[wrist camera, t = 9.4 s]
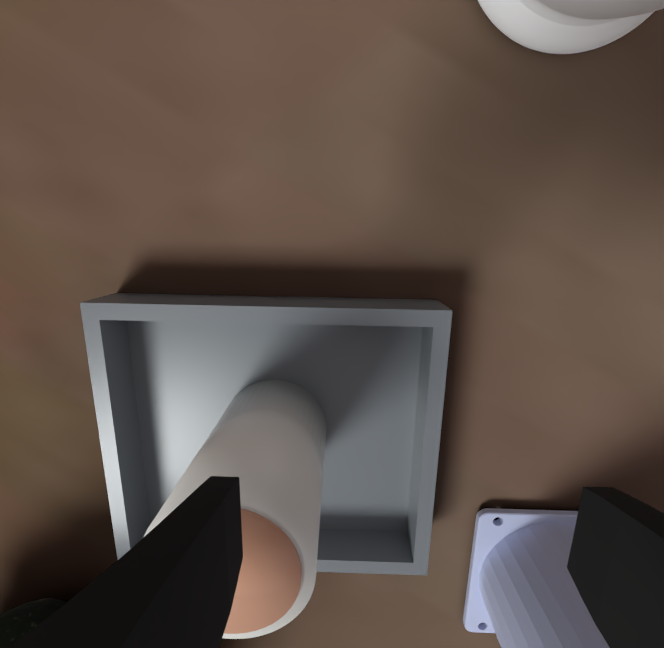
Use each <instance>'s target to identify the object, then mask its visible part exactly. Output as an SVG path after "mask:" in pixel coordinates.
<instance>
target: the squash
mask: <svg viewBox="0 0 664 648" xmlns="http://www.w3.org/2000/svg"><path fill="white" fill-rule="evenodd" d="M64 604H66V602H65V601H63V600H59V599H53V598H47V599H40V600H36V601H31V602H26V603H24V604H22V605H20V606H17V607H15V608H13V609H11V610H8V611H6V612H4V613H2V614H0V648H8V647H9V646H10V645H12V644H13V643H14V642H16V641H17V640H19V639H20V638H21V637H23V636H24V635H25V634H27V633H28V632H29V631H31V630H32V629H33V628H35V627H36V626H37V625H38V624H40V623H41V622H42V621H44V620H45V619H46V618H48V617H49V616H50V615H51V614H53V613H54V612H55V611H57V610H58V609H59V608H60V607H62V606H63V605H64Z"/></svg>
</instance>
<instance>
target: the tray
mask: <svg viewBox="0 0 664 648" xmlns="http://www.w3.org/2000/svg"><path fill="white" fill-rule="evenodd" d="M80 307H81V314H82V321H83V327H84V334H85V341H86V348H87V355H88V362H89V368H90V375H91V382H92V389H93V396H94V403H95V409H96V416H97V423H98V430H99V437H100V444H101V450H102V457H103V464H104V471H105V478H106V485H107V491H108V498H109V505H110V512H111V519H112V526H113V532H114V539H115V546H116V553H117V560H119V559H120V558H121V557H122V556H123V555H124V554H125V553H127V552H128V551H129V550H130V549H131V548H132V547H133V546H134V545H136V544H137V543H138V542H139V541H140V540H141V539H142V538H143V537H144V535H145V533H146V531H147V529H148V527H149V526H150V524H151V523H152V521H153V520H154V518H155V517H156V515H157V514H158V512H159V511H160V509H161V508H162V506H163V505H164V503H165V502H166V500H167V499H168V497H169V496H170V494H171V493H172V491H173V490H174V488H175V486H176V485H177V483H178V482H179V480H180V479H181V477H182V476H183V474H184V473H185V471H186V470H187V468H188V467H189V465H190V464H191V462H192V461H193V459H194V458H195V456H196V455H197V453H198V452H199V450H200V448H201V447H202V445H203V444H204V442H205V441H206V439H207V438H208V436H209V435H210V433H211V432H212V430H213V429H214V427H215V426H216V424H217V423H218V421H219V420H220V418H221V417H222V415H223V414H224V412H225V410H226V409H227V407H228V406H229V404H230V403H231V401H232V400H233V399H234V397H235V396H236V395H237V394H238V393H239V392H240V391H241V390H243V389H244V388H246V387H247V386H249V385H251V384H253V383H256V382H259V381H264V380H283V381H288V382H291V383H294V384H296V385H298V386H300V387H302V388H304V389H305V390H307V391H308V392H309V393H310V394H311V395H312V396H313V397H314V398H315V399H316V400H317V401H318V403H319V404H320V406H321V408H322V410H323V412H324V415H325V419H326V443H325V457H324V471H323V485H322V498H321V512H320V526H319V540H318V554H317V568H316V572H342V573H373V574H404V575H427V570H428V559H429V549H430V539H431V528H432V518H433V508H434V497H435V487H436V477H437V466H438V456H439V446H440V435H441V425H442V415H443V404H444V394H445V384H446V373H447V363H448V353H449V342H450V332H451V322H452V310H451V309H450V308H448V307H447V306H445V305H444V304H442V303H441V302H439V301H438V300H427V299H379V298H331V297H283V296H235V295H186V294H138V293H114V294H111V295H107V296H103V297H99V298H96V299H92V300H88V301H84V302H80Z"/></svg>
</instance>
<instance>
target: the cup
mask: <svg viewBox="0 0 664 648" xmlns="http://www.w3.org/2000/svg"><path fill="white" fill-rule="evenodd" d="M325 443H326V419H325V415H324V412H323V410H322V408H321V406H320V404H319V403H318V401H317V400H316V399H315V398H314V397H313V396H312V395H311V394H310V393H309V392H308V391H307V390H305V389H304V388H302V387H300V386H298V385H296V384H294V383H291V382H288V381H283V380H264V381H259V382H256V383H253V384H251V385H249V386H247V387H246V388H244V389H243V390H241V391H240V392H239V393H238V394H237V395H236V396H235V397H234V399H233V400H232V401H231V403H230V404H229V406H228V407H227V409H226V410H225V412H224V414H223V415H222V417H221V418H220V420H219V421H218V423H217V424H216V426H215V427H214V429H213V430H212V432H211V433H210V435H209V436H208V438H207V439H206V441H205V442H204V444H203V445H202V447H201V448H200V450H199V452H198V453H197V455H196V456H195V458H194V459H193V461H192V462H191V464H190V465H189V467H188V468H187V470H186V471H185V473H184V474H183V476H182V477H181V479H180V480H179V482H178V483H177V485H176V486H175V488H174V490H173V491H172V493H171V494H170V496H169V497H168V499H167V500H166V502H165V503H164V505H163V506H162V508H161V509H160V511H159V512H158V514H157V515H156V517H155V518H154V520H153V521H152V523H151V524H150V526H149V527H148V529H147V531H146V533H145V535H144V537H145V536H146V535H147V534H148V533H149V532H150V531H151V530H152V529H154V528H155V527H156V526H157V525H158V524H159V523H160V522H161V521H162V520H163V519H164V518H166V517H167V516H168V515H169V514H170V513H171V512H172V511H173V510H174V509H175V508H176V507H177V506H179V505H180V504H181V503H182V502H183V501H184V500H185V499H186V498H187V497H188V496H189V495H190V494H192V493H193V492H194V491H195V490H196V489H197V488H198V487H199V486H200V485H201V484H203V483H204V482H205V481H206V480H207V479H208V478H209V477H210V476H224V477H239V483H240V503H241V524H242V545H243V560H242V564H241V569H240V573H239V578H238V582H237V587H236V591H235V595H234V599H233V604H232V608H231V612H230V615H229V618H228V622H227V625H226V628H225V631H224V634H223V637H222V638H226V639H245V638H253V637H257V636H262V635H265V634H268V633H271V632H273V631H276V630H278V629H280V628H282V627H283V626H285V625H286V624H288V623H289V622H291V621H292V620H293V619H294V618H295V617H297V616H298V615H299V613H300V612H301V611H302V610H303V609H304V607H305V606H306V604H307V603H308V601H309V599H310V597H311V595H312V593H313V589H314V586H315V580H316V568H317V554H318V540H319V526H320V512H321V498H322V485H323V471H324V457H325Z"/></svg>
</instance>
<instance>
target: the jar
mask: <svg viewBox="0 0 664 648" xmlns="http://www.w3.org/2000/svg"><path fill="white" fill-rule="evenodd" d="M478 2H479V4H480V6H481V8H482V9H483V11H484V12H485V14H486V15H487V16H488V18H489V19H490V20H491V22H492V23H493V24H494V25H495V26H496V27H497V28H498V29H499V30H500V31H501V32H502V33H504V34H505V35H506V36H507V37H509V38H510V39H512V40H513V41H515V42H517V43H519V44H520V45H522V46H525V47H527V48H529V49H532V50H536V51H540V52H544V53H550V54H573V53H580V52H585V51H589V50H593V49H596V48H599V47H602V46H604V45H607V44H609V43H611V42H613V41H615V40H617V39H619V38H621V37H622V36H624V35H626V34H627V33H629V32H630V31H632V30H633V29H635V28H636V27H637V26H639V25H640V24H641V23H642V22H644V21H645V20H646V19H647V18H648V17H649V16H650V15H652V14H653V13H654V12H655V11H657V10H661V9H664V0H478Z"/></svg>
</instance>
